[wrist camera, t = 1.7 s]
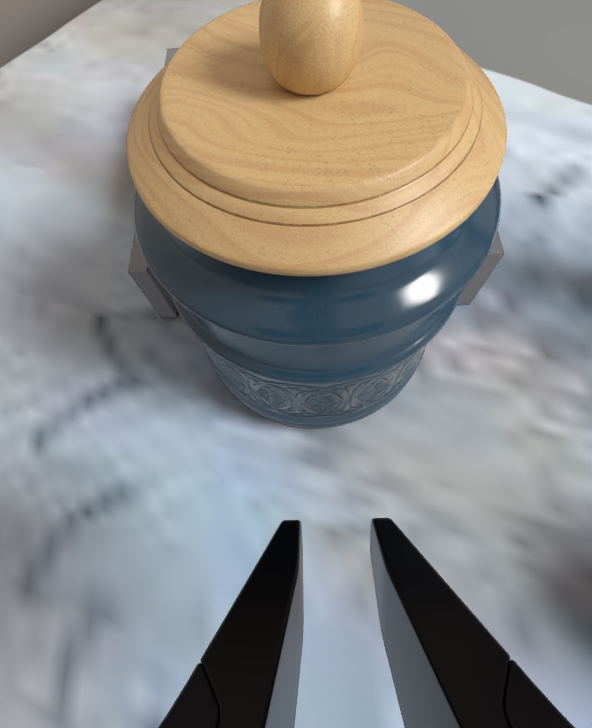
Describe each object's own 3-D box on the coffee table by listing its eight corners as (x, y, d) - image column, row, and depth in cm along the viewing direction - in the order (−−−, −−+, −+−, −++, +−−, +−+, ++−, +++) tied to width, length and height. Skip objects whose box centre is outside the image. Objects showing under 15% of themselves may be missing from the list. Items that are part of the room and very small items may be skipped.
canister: (458, 319, 25) (732, -85, 8) (332, 482, 21) (383, 331, 5) (300, 221, 28) (280, -190, 12) (170, 347, 25) (-103, 6, 9)
